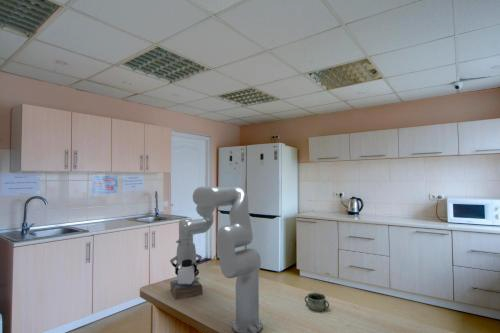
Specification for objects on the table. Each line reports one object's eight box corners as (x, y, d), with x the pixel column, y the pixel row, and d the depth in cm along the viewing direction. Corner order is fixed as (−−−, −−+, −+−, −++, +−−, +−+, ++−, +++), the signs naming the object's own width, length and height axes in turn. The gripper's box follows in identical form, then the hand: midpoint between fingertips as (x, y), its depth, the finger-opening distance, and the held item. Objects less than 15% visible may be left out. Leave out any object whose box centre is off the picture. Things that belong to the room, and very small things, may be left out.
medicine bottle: (194, 279, 156) (194, 257, 156) (191, 284, 148) (190, 261, 149) (181, 279, 156) (181, 257, 156) (177, 284, 149) (177, 261, 149)
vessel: (301, 310, 132) (300, 296, 133) (308, 302, 140) (307, 289, 140) (326, 316, 126) (326, 302, 126) (332, 308, 133) (332, 295, 134)
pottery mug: (177, 280, 170) (178, 266, 175) (185, 282, 178) (186, 269, 182) (195, 278, 168) (196, 263, 172) (203, 280, 175) (203, 266, 180)
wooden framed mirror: (202, 294, 151) (202, 284, 151) (175, 299, 145) (175, 289, 145) (195, 285, 163) (195, 276, 163) (170, 289, 157) (170, 280, 157)
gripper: (171, 245, 147) (171, 278, 147) (203, 241, 155) (203, 273, 154) (168, 242, 154) (168, 274, 154) (199, 238, 162) (199, 269, 161)
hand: (186, 273), depth 154 cm, fingers closed on medicine bottle, 9 cm apart
